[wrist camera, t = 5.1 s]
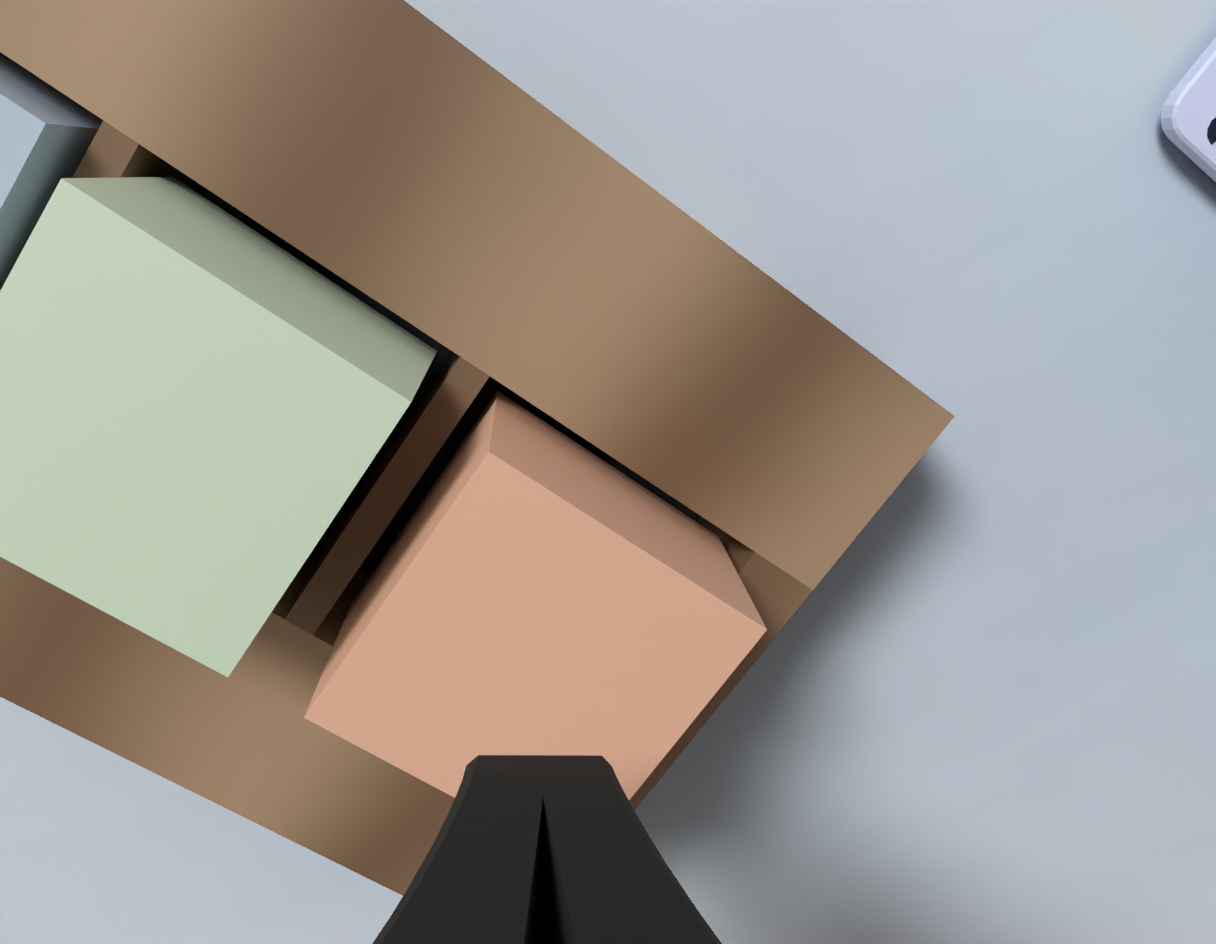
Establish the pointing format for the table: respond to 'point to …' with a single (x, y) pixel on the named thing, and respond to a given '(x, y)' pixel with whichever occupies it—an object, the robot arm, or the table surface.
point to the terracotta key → (535, 616)
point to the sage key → (182, 410)
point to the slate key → (34, 152)
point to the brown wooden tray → (483, 347)
